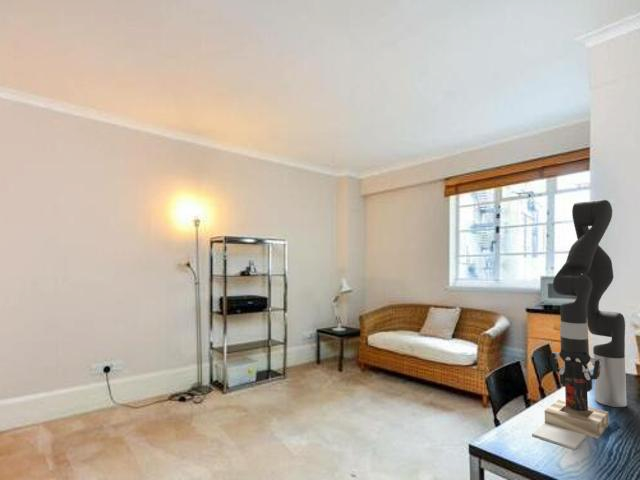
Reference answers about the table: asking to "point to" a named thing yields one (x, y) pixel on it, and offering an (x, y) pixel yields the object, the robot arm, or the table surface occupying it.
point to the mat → (559, 436)
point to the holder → (577, 419)
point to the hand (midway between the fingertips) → (575, 388)
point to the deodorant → (575, 386)
